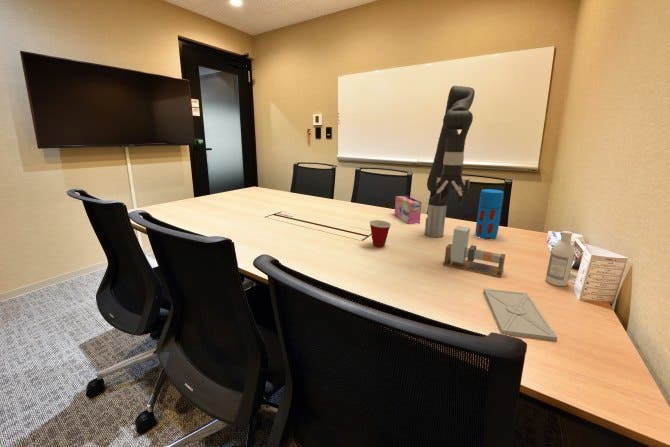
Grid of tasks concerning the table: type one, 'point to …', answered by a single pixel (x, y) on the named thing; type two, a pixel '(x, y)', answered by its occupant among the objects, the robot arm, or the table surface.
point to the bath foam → (561, 261)
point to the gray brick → (471, 253)
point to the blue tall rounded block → (489, 213)
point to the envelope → (518, 315)
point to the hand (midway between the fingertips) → (448, 203)
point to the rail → (476, 266)
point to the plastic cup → (379, 232)
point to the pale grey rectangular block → (459, 243)
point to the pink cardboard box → (408, 209)
